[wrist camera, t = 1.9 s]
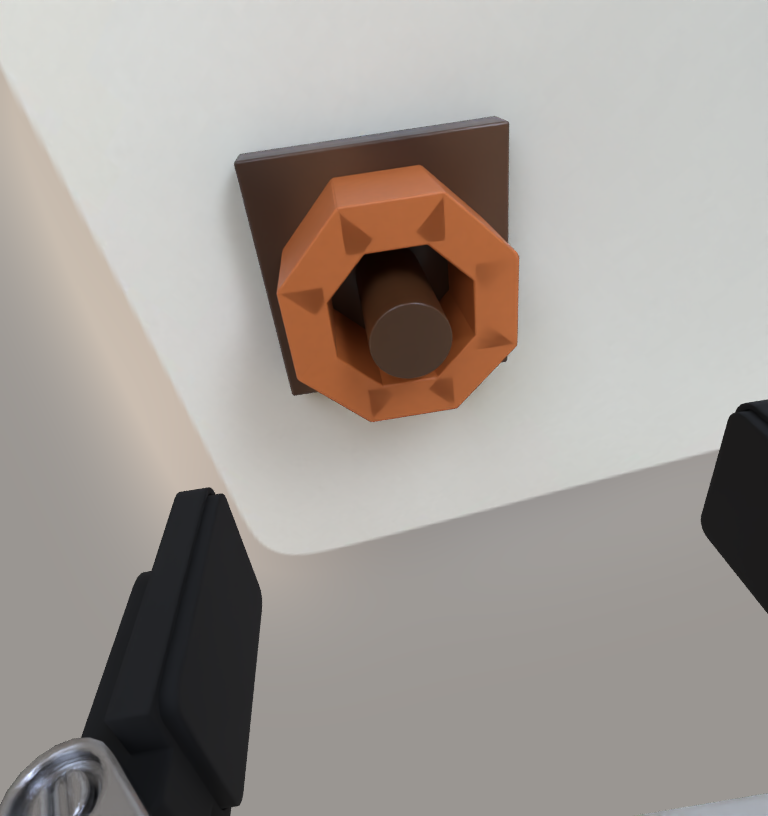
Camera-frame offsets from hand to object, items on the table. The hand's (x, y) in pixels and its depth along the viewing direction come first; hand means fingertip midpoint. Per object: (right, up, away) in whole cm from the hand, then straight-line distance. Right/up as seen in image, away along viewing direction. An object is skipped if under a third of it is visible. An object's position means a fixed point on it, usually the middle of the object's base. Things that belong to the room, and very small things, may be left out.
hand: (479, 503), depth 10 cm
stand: (-2, +7, +11) cm, 14 cm away
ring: (-2, +7, +10) cm, 12 cm away
